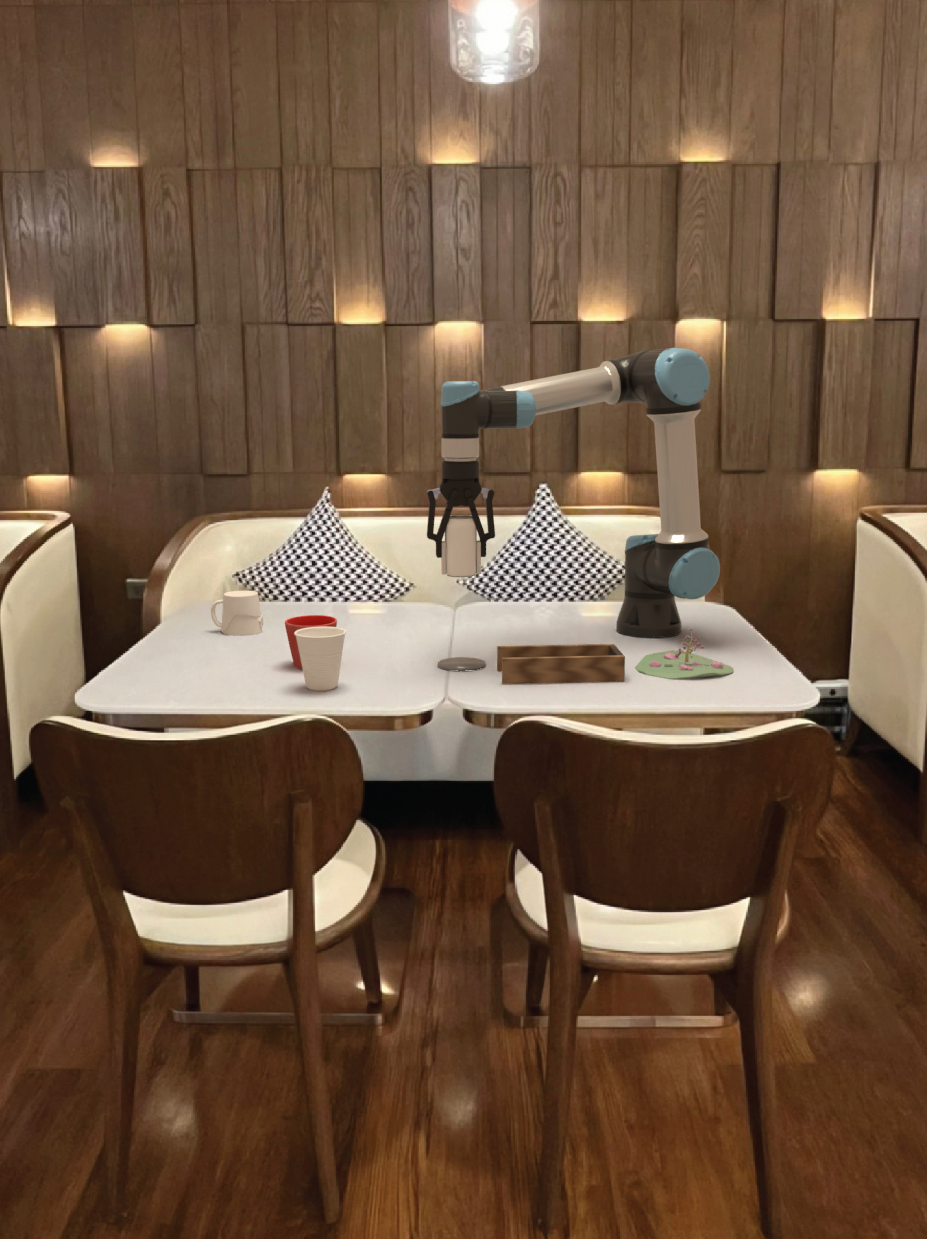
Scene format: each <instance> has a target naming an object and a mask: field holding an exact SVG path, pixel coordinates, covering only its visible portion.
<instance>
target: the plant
mask: <svg viewBox="0 0 927 1239" xmlns="http://www.w3.org/2000/svg"><path fill="white" fill-rule="evenodd" d="M689 631H690V632H691V633H693V631H694V629H693V628H690V629H689ZM688 638H691V639H690V642H689V643H688V642H687V641H689V639H688ZM685 639H686V641H685ZM699 640H700V637H694V636H690V635H688V634H685V635H684V638H682V641H679V644H681V643H682V647H679V648H678V650H675V649H673V650H665V651H661V652H658V651H657V652H654V653H648V654H646V655H645V656H643V658H641V659H640V660H639V662H638V663H637V664H636V665H635V667H634V669H635V671H637V672H639V673H641V674H643V675H645V676H649V677H655V678H660V679H666V680H667V679H668V680H681V679H692V678H706V677H717V676H727V675H731V674H733V673H734V671H735V670H734V668H733V667H732V666H731V665H728V664H725V663H722V662H718V661H717V660H714V659H712V658H707V657H705V656H701V655H698V654H695V653H692V652H693V651H696V650H697V649H698V648H699V649H705V646H704V645H701V642H699ZM692 643H693V644H695V643H696V644H695V645H691V644H692ZM684 650H685V651H684Z"/></svg>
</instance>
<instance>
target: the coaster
mask: <svg viewBox="0 0 927 1239" xmlns="http://www.w3.org/2000/svg"><path fill="white" fill-rule="evenodd" d="M486 665H487V664H486V661H485V660H483V659H481V658H476V657H467V656H466V657H464V656H460V657H459V656H458V657H447V658H444V659H441V660H439V661H437V668H438V669H440V670H442V671H443V670H444V671H449V672H451V671H450V670H458V671H457V672H460V671H462V672H466V671H465V670H475V671H478V670H477V669H480V668H482V669H484V668H486ZM480 670H481V669H480Z"/></svg>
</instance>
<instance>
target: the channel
mask: <svg viewBox="0 0 927 1239" xmlns="http://www.w3.org/2000/svg"><path fill="white" fill-rule="evenodd" d="M496 646H497V647H496V671H497V670H498V671H497V672H501V684H502V685H519V684H521V685H522V684H523V685H524V684H564V683H565V684H566V683H567V684H568V683H572V684H573V683H609V682H610V683H611V682H612V683H613V682H625V676H626V675H625V673H626V672H625V670H626V669H625V668H626V667H625V666H626V657H625V655H624V653H623V652H622V651H621V650H620V649H619V648H618V647H617V646H616V645H615V643H593V644H592V643H590V644H588V643H587V644H585V643H584V644H583V643H581V644H540V645H539V644H535V645H534V644H533V645H529V644H528V645H527V644H526V645H496Z"/></svg>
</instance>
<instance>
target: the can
mask: <svg viewBox="0 0 927 1239" xmlns="http://www.w3.org/2000/svg"><path fill="white" fill-rule="evenodd" d="M477 535H478V532H477V528H476V525H475V522H474V519H473V517H472V515H471V514H469V515H468V514H456V515H452V514H451V515H450V517H449V520H448V523H447V526H446V529H445V533H444V541H445V543H446V576H447V577H451V578H469V577H470V578H471V577H475V576H476V575H477V541H478V539H477Z"/></svg>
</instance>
